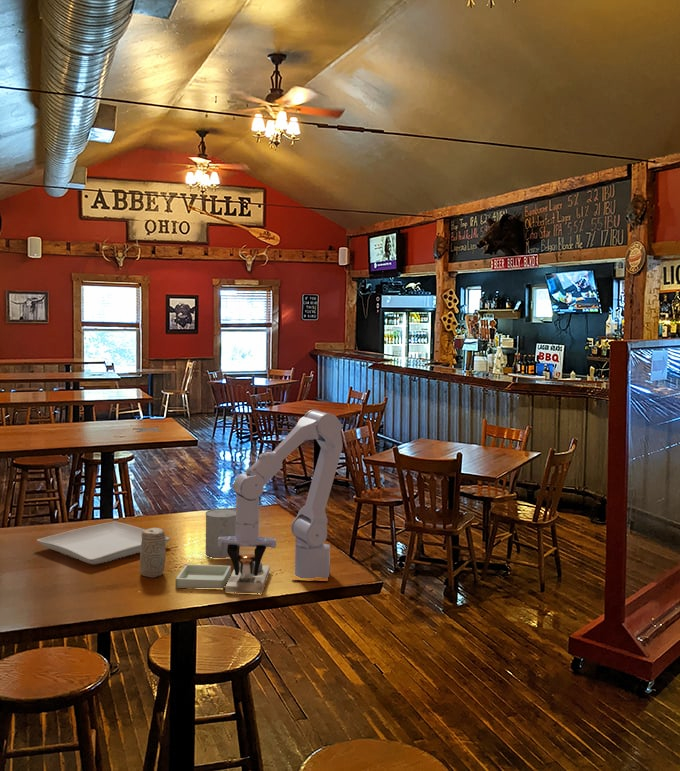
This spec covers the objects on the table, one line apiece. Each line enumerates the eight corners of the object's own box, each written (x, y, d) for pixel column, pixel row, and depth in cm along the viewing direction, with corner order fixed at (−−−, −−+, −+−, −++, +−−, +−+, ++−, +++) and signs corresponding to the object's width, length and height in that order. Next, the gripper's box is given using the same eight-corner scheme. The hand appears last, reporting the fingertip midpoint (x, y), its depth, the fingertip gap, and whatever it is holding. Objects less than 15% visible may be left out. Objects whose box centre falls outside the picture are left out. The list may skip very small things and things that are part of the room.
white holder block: (269, 572, 197) (269, 555, 197) (261, 595, 181) (261, 576, 181) (236, 571, 197) (236, 554, 197) (225, 594, 181) (225, 575, 181)
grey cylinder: (206, 561, 206) (207, 518, 204) (203, 550, 215) (204, 509, 214) (241, 558, 208) (241, 516, 207) (236, 548, 217) (236, 507, 216)
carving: (150, 581, 189) (150, 535, 188) (134, 574, 194) (133, 529, 193) (171, 575, 194) (171, 530, 193) (154, 568, 199) (154, 524, 198)
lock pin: (256, 584, 188) (256, 554, 188) (253, 590, 184) (254, 559, 183) (239, 583, 189) (239, 553, 188) (236, 590, 184) (236, 559, 183)
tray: (230, 574, 195) (231, 565, 195) (223, 590, 184) (223, 580, 184) (186, 573, 195) (186, 564, 195) (175, 588, 184) (175, 578, 184)
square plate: (91, 572, 196) (91, 558, 195) (35, 551, 212) (34, 538, 212) (171, 548, 217) (171, 535, 217) (114, 530, 233) (114, 519, 233)
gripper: (215, 525, 181) (215, 578, 182) (274, 526, 181) (273, 580, 182) (220, 517, 188) (220, 569, 189) (277, 519, 188) (276, 570, 189)
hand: (246, 574), depth 186 cm, fingers closed on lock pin, 4 cm apart
